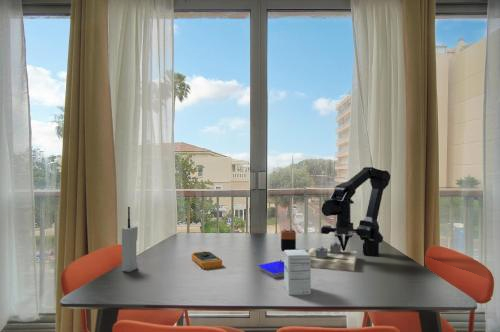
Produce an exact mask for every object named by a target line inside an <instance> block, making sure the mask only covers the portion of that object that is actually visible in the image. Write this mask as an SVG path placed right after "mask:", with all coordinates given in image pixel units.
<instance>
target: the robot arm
mask: <svg viewBox="0 0 500 332" xmlns="http://www.w3.org/2000/svg"><path fill="white" fill-rule="evenodd" d="M368 180H369V183H370V186H371V191H370V195H369V196H370V197H369V200H368V206H367V210H366V215H365V218H364V219H363V220H362V219H360V220H359V225H358V226H357V227H356V228H354V222H351V221H352V219H351V204H353V205H354V203H355V201H353V200H352V197H353V196H354V195H355V194H356V191H357V189H358V188H359V187H360V186H361V185H363V184H364V183H366V181H368ZM390 181H391V174H390V172H389V170H382V169H378V168H375V167H373V166H364V167H362V169H361V170H360V171H359V172H358V173H356V174H355V175H354V176H352V177H351V178H350V179H349V180H347V181H344V182H341V183H339V184H337V185H336V186H334V188H333V189H334V190H333V191H332V193H331V195H330V197H329V199H325V200H324V203H322V205H321V213H322V215H323V216H324V217H331V216H336V223H335V227H332V225H322V227H320V234H323V235H329V234H330V233H334V237H337V239H338V241H339V244H341V250H343V251H346V248H347V244H348V241H349V240H350V238H353V235H354V234H356V235H357V236H358V237H359V239H360V240H361V241H363V243H362V254H363V255H364V256H370V257H380V252H379V251H380V248H379V247H380V245H379V244H382V243H383V240H384V237H383V235H382V234H381V232H380V225H379V223H378V217H379V213H380V206H381V204H382V203H381V202H382V199H383V198H382V197H383V194H384V190H385V189H386V188H387V186H389V184H390Z"/></svg>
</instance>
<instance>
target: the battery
mask: <svg viewBox="0 0 500 332" xmlns="http://www.w3.org/2000/svg"><path fill="white" fill-rule="evenodd" d="M296 233H297V232H296V231H295V230H294V228H289V230H287V229H282V230H280V249H281V251H282V252H284V250H297V241H296V240H297V239H296V238H297V237H296V236H297V234H296Z"/></svg>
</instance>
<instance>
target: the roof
mask: <svg viewBox="0 0 500 332" xmlns="http://www.w3.org/2000/svg"><path fill="white" fill-rule="evenodd" d="M256 266H257V267H258V268H259V271H260V272H261V271H262V272H261V273H263V274H265V275H267V276H269V277H271V278H273V279H278V278H284V260H283V261H282V259H279V260H277V261H272V262H268V263H262V264H258V265H256Z"/></svg>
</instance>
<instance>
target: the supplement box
mask: <svg viewBox="0 0 500 332" xmlns="http://www.w3.org/2000/svg"><path fill="white" fill-rule="evenodd" d="M283 262H284V277H283V279H284V281H283V282H284V283H283V284H284V287H283V288H285V290H286V292H287V294H288V296H304V295H305V296H306V295H311V294H312V293H311V292H312V288H311V286H312V285H311V283H312V281H311V273H312V271H311V269H312V267H311V257H310V254H309V253H308V251H307V250H305V249H296V250H284V251H283Z"/></svg>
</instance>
